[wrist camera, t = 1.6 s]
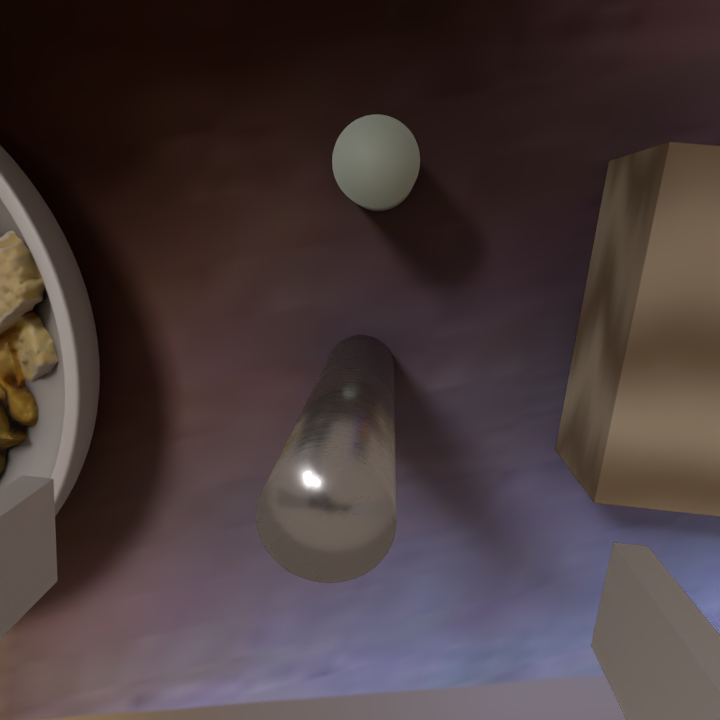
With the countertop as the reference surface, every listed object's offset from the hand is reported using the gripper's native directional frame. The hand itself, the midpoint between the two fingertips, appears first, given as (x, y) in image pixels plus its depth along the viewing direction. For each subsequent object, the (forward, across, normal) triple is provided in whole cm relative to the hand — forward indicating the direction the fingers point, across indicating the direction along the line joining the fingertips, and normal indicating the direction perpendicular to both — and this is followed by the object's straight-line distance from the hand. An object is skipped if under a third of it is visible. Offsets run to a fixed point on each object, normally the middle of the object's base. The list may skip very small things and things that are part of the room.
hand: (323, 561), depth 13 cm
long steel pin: (+17, 0, 0) cm, 17 cm away
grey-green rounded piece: (+17, 0, +10) cm, 20 cm away
